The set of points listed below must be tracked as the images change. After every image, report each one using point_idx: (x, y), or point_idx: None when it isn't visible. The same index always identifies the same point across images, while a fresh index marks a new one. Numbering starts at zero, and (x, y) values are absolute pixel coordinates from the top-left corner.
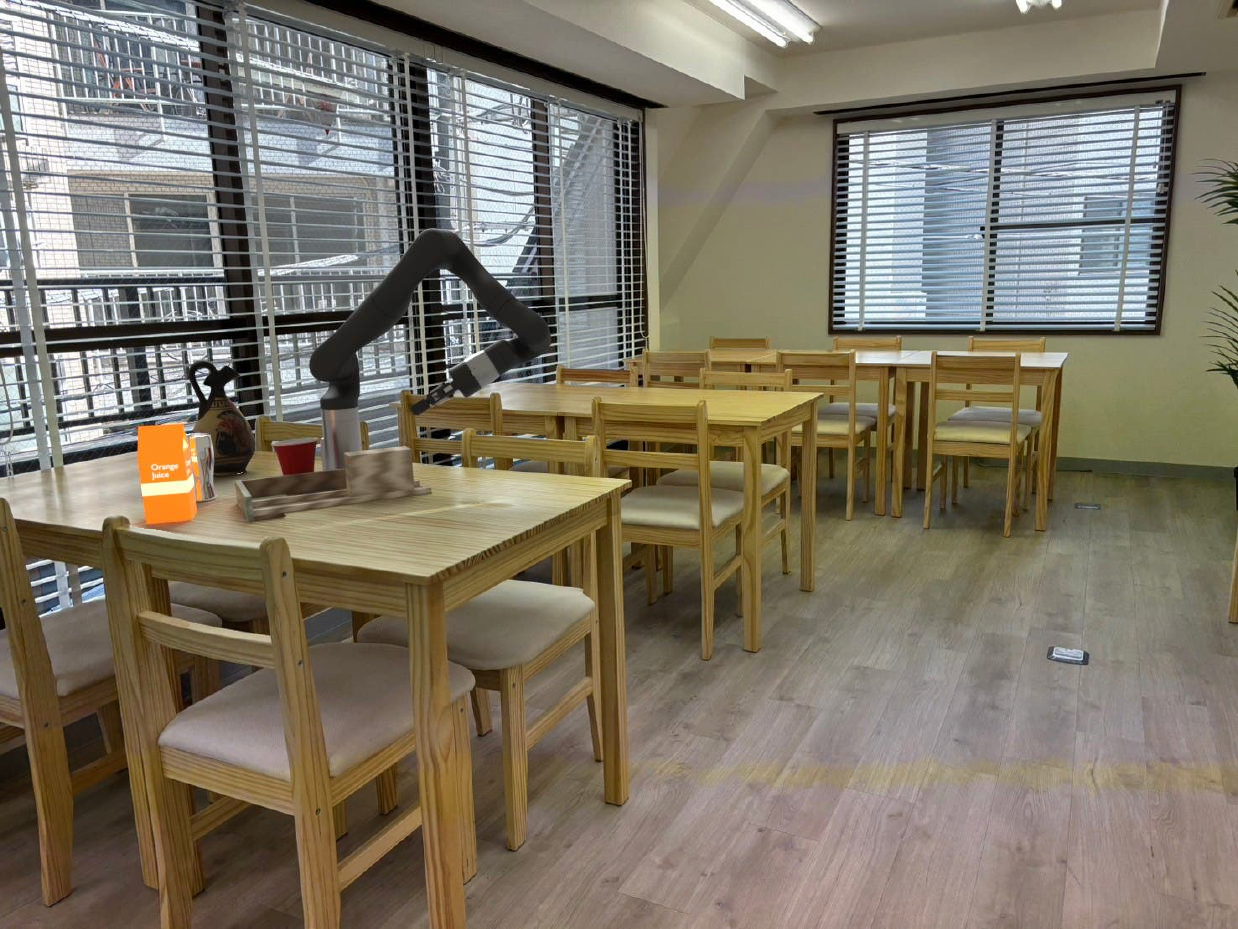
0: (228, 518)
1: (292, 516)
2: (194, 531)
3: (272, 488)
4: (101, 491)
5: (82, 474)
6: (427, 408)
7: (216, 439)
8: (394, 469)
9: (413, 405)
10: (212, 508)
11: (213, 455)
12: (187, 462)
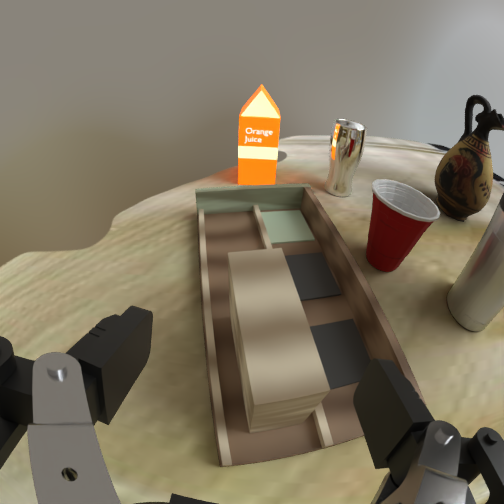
0: None
1: (193, 248)
2: (186, 187)
3: (314, 220)
4: (380, 155)
5: (432, 157)
6: (373, 451)
7: (444, 167)
8: (243, 372)
9: (121, 316)
10: None
11: (348, 152)
12: (253, 130)
